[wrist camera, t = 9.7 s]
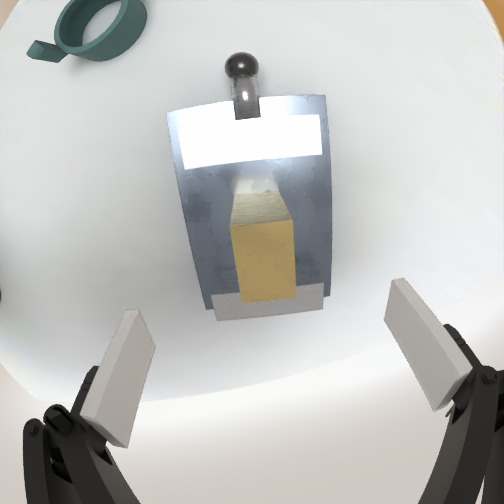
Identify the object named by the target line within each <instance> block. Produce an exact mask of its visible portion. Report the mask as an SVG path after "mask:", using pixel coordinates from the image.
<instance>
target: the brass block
mask: <svg viewBox="0 0 504 504" xmlns="http://www.w3.org/2000/svg"><path fill="white" fill-rule="evenodd" d="M230 233H231V239H232V246H233V252H234V258H235V264H236V271H237V277H238V283H239V289H240V295H241V300H242V304H243V303H253V302H263V301H272V300H280V299H289V298H296V275H295V252H294V233H293V220H292V218H291V215H290V213H289V211H288V209H287V207H286V205H285V203H284V201H283V199H282V197H281V195H280V193H279V191H270V192H260V193H251V194H243V195H235V196H234V202H233V208H232V215H231V221H230Z"/></svg>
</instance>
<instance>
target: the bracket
mask: <svg viewBox="0 0 504 504" xmlns="http://www.w3.org/2000/svg"><path fill="white" fill-rule="evenodd" d="M115 1H119V0H71V1H70V2H69V3H68V4H67V5H66V6H65V8H64V9H63V11H62V12H61V14H60V16H59V18H58V20H57V23H56V26H55V30H54V40H55V43H56V45H54V44H50V43H46V42H42V41H38V40H35V41H34V42H33V44H32V45H31V47H30V48H29V50H28V51H27V53H26V54H27V55H28V56H29V57H30V58H32V59H37V60H44V61H50V62H55V63H58V62H60V61H61V60H62V59H63V58H64V57H65V56H67V55H68V54H72V55H76V56H79V57H83V58H86V59H89V60H93V61H106V60H109V59H112V58H115V57H117V56H119V55H120V54H122V53H123V52H125V51H126V50H127V49H129V48H130V47H131V46H132V45H133V44H134V43H135V42H136V40H137V39H138V38H139V37H140V35H141V33H142V32H143V29H144V27H145V24H146V20H147V12H146V8H145V7H144V5H143V4H142V3H141V2H140V1H139V0H122V4H121V8H120V11H119V13H118V15H117V17H116V18H115V20H114V21H113V23H112V24H111V25H110V27H109V28H108V29H107V30H106V31H105V32H104V33H103V34H101V35H100V36H99V37H98V38H96V39H95V40H93V41H92V42H90V43H88V44H86V45H83V46H82V36H83V32H84V29H85V27H86V25H87V23H88V22H89V20H90V19H91V18H92V16H93V15H94V14H95V13H96V12H98V11H99V10H100V9H101V8H103V7H104V6H106V5H108V4H110V3H112V2H115Z"/></svg>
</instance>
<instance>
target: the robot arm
mask: <svg viewBox="0 0 504 504" xmlns="http://www.w3.org/2000/svg"><path fill="white" fill-rule="evenodd" d="M0 299H1V294H0ZM384 321H385V323H386V324H387V326H388V328H389V330H390V331H391V333H392V335H393V336H394V338H395V340H396V341H397V343H398V345H399V347H400V349H401V350H402V352H403V354H404V356H405V357H406V359H407V361H408V363H409V365H410V367H411V368H412V370H413V372H414V374H415V376H416V378H417V380H418V382H419V384H420V386H421V387H422V389H423V391H424V393H425V395H426V397H427V399H428V401H429V404H430V406H431V408H432V410H433V412H435V411H437V410H439V409H442V408H444V407H446V406H447V405H448V404H449V402H450V401H451V399H453V401H454V405H453V406H452V407H451V408H450V410H449V411H448V412H447V414H446V417H448V415H449V414H450V413H451V414H450V418H449V422H448V426H447V430H446V433H445V436H444V440H443V443H442V446H441V449H440V452H439V455H438V458H437V461H436V463H435V466H434V468H433V471H432V474H431V476H430V479H429V481H428V483H427V485H426V488H425V491H424V492H423V494H422V496H421V499H420V501H419V503H418V504H475V503H476V500H477V497H478V494H479V492H480V488H481V485H482V482H483V479H484V488H483V495H482V502H481V504H504V370H501V371H496V370H495V369H494V368H492V367H490V366H483V365H482V364H481V363H480V361H479V360H478V358H477V357H476V356H475V354H474V353H473V351H472V350H471V349H470V347H469V346H468V344H466V342H465V340H464V339H463V338H462V337H461V335H460V334H459V332H458V331H457V330H456V329H455V328H453V327H452V326H450V325H449V324H445V325H442V324H441V323H440V321H439V320H438V319H437V317H436V316H435V315H434V313H433V312H432V311H431V310H430V308H429V307H428V306H427V305H426V303H425V302H424V301H423V300H422V299H421V297H420V296H419V295H418V294H417V292H416V291H415V290H414V289H413V288H412V287H411V285H410V284H409V283H408V282H407V281H406V280H405V278H399V279H394V280H392V283H391V288H390V293H389V298H388V303H387V308H386V312H385V317H384ZM155 347H156V346H155V344H154V342H153V340H152V338H151V336H150V333H149V331H148V329H147V327H146V324H145V322H144V320H143V317H142V315H141V313H140V310H139V309H136V310H126V312H125V314H124V316H123V318H122V320H121V322H120V324H119V326H118V328H117V330H116V332H115V334H114V336H113V338H112V340H111V342H110V344H109V347H108V349H107V351H106V353H105V355H104V357H103V360H102V362H101V364H100V366H93V367H92V368H91V369H90V371H89V372H88V373H87V375H86V377H85V379H84V381H83V382H84V383H82V386H81V388H80V389H81V390H79V393H78V395H77V397H76V400H75V402H74V405H73V407H72V409H71V412H69V411H68V410H67V409H66V408H65V407H64V406H62V405H59V404H55V405H52V406H50V407H49V408H48V409H47V410H46V412H45V414H44V417H43V422H44V423H45V424H46V425H44V424H43V423H42V422H41V421H40V420H38V419H35V418H33V419H30V420H29V421H28V422H26V424H25V426H24V430H23V466H24V480H25V490H26V498H27V504H140V502H139V501H138V499H137V498H136V496H135V495H134V494H133V492H132V490H131V489H130V487H129V485H128V484H127V482H126V480H125V479H124V477H123V475H122V474H121V472H120V470H119V468H118V466H117V465H116V463H115V461H114V459H113V457H112V456H111V453H110V451H109V449H108V448H107V447H106V446H105V445H106V441H108V442H110V443H111V444H112V445H113V446H117V447H123V448H128V445H129V440H130V436H131V432H132V428H133V424H134V420H135V416H136V412H137V409H138V405H139V401H140V398H141V394H142V390H143V387H144V383H145V380H146V377H147V373H148V370H149V366H150V363H151V360H152V357H153V353H154V350H155ZM484 475H485V477H484Z"/></svg>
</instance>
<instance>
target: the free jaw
mask: <svg viewBox="0 0 504 504" xmlns="http://www.w3.org/2000/svg"><path fill="white" fill-rule="evenodd" d="M258 70H259V65H258V62H257V60H256V58H255V57H254V56H252V55H251V54H249V53H245V52H240V53H235V54H233V55H232V56H230V57H229V58H228V59H227V61H226V63H225V72H226V74H227V76H228V77H229V78H230V82H231V90H232V98H233V106H234V114H235V121H230V122H223V123H216V124H210V125H204V126H198V127H192V128H187V129H182V130H179V137H180V143H181V150H182V156H183V162H184V168H185V170H187V169H193V168H199V167H205V166H212V165H218V164H226V163H233V162H241V161H250V160H259V159H269V158H280V157H292V156H306V155H322V145H321V132H320V120H319V115H295V116H279V117H266V118H261V112H260V104H259V95H258V87H257V80H256V75H257V73H258Z"/></svg>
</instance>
